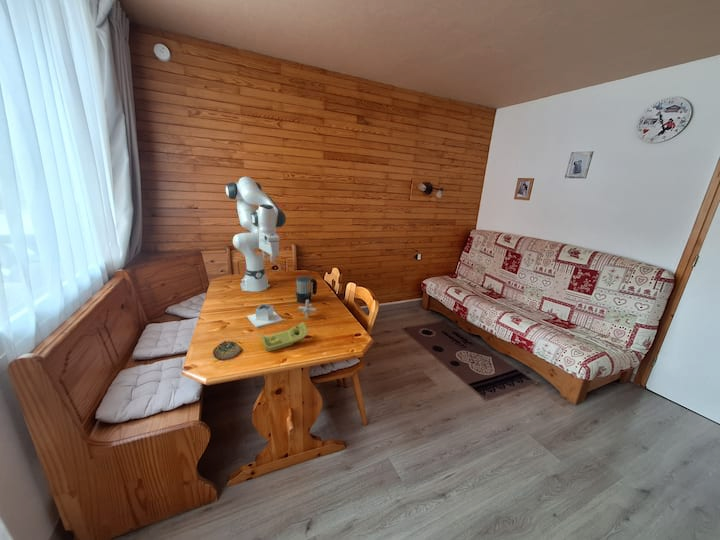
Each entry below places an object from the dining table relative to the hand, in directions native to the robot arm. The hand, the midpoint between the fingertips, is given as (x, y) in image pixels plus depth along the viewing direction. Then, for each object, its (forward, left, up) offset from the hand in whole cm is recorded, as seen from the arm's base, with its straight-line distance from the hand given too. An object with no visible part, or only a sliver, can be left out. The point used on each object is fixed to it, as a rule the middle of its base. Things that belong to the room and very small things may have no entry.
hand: (268, 260), depth 153 cm
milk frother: (-4, +23, -29) cm, 37 cm away
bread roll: (+33, -32, -30) cm, 55 cm away
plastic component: (+39, -9, -30) cm, 50 cm away
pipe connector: (+22, +12, -29) cm, 39 cm away
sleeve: (+12, -8, -28) cm, 31 cm away
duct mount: (+12, -8, -29) cm, 32 cm away
